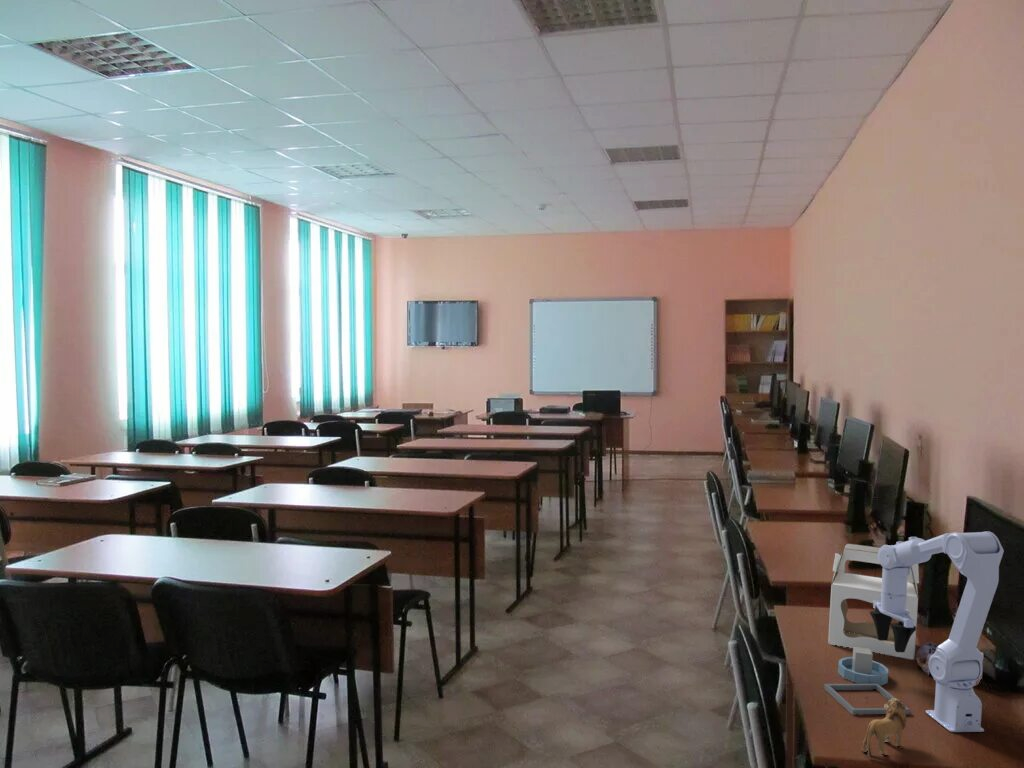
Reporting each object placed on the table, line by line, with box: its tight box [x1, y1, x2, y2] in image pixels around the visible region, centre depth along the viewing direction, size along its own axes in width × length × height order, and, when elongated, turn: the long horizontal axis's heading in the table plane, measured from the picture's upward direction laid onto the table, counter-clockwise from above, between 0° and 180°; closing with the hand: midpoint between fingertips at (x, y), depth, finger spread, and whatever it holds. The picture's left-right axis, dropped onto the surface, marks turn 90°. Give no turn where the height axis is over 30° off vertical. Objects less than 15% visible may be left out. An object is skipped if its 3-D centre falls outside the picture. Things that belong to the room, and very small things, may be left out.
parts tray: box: [823, 683, 911, 716], centre depth 188 cm, size 14×14×1 cm
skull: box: [915, 641, 939, 676], centre depth 207 cm, size 12×8×6 cm, turn 151°
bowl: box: [837, 656, 889, 687], centre depth 203 cm, size 12×12×2 cm
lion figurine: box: [861, 697, 907, 758], centre depth 166 cm, size 15×5×9 cm, turn 134°
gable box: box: [827, 543, 920, 661], centre depth 224 cm, size 22×13×28 cm, turn 64°
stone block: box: [852, 647, 874, 675], centre depth 203 cm, size 4×4×6 cm
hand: (891, 645), depth 199 cm, fingers open, 7 cm apart
